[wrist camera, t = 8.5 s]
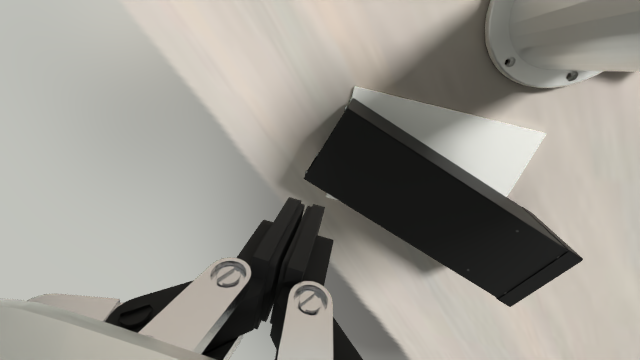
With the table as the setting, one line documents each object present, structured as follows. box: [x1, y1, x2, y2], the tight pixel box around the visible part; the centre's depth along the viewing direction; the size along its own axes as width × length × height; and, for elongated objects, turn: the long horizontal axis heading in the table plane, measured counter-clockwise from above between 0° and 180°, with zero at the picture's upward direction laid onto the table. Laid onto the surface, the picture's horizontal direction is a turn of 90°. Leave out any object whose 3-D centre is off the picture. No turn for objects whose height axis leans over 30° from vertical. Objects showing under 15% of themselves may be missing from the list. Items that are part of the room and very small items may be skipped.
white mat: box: [326, 86, 547, 201], centre depth 30 cm, size 20×14×1 cm
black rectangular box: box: [304, 98, 583, 307], centre depth 27 cm, size 8×8×28 cm
